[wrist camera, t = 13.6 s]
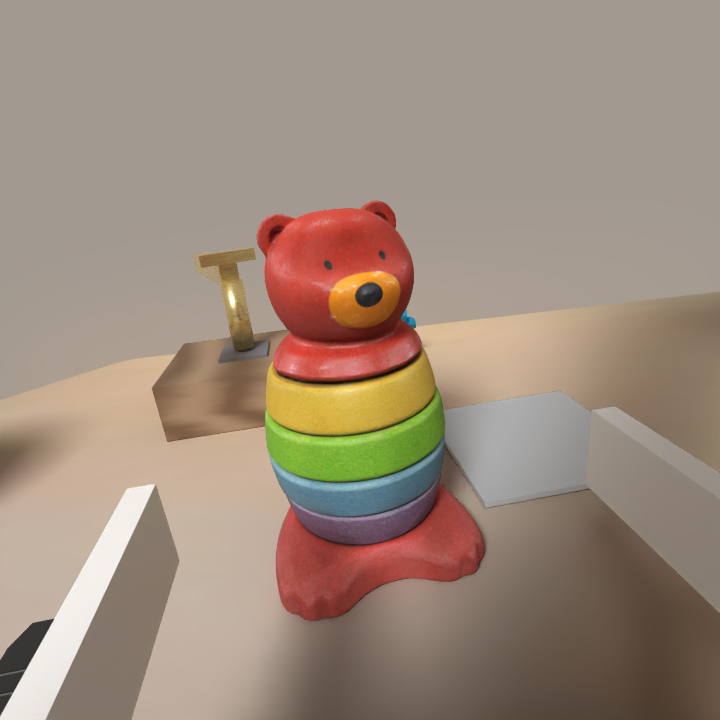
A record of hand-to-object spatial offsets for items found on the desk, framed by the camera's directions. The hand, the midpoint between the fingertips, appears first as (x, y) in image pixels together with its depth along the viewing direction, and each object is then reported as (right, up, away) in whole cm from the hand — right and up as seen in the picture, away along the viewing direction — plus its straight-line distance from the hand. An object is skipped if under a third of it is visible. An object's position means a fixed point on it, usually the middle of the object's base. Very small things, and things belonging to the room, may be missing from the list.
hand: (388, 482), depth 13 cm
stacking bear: (0, -6, +12) cm, 14 cm away
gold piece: (-15, +7, +35) cm, 38 cm away
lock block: (-11, 0, +31) cm, 33 cm away
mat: (+12, -2, +19) cm, 23 cm away
